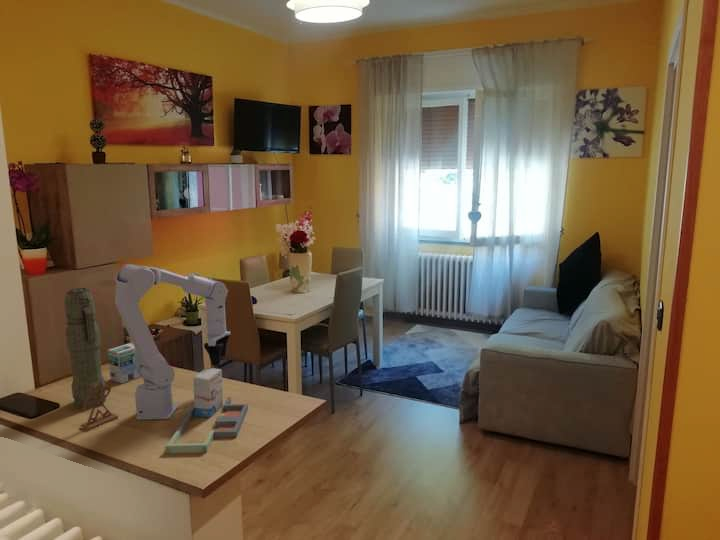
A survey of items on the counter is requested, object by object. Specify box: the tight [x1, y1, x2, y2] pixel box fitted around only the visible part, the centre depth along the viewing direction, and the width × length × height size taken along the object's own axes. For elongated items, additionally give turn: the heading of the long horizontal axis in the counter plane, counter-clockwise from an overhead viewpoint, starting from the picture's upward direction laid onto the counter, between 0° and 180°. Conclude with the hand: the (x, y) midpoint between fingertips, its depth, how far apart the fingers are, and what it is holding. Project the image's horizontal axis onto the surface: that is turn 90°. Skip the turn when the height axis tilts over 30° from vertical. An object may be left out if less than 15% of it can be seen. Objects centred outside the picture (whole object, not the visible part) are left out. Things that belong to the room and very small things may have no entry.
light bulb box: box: [107, 342, 141, 384], centre depth 181 cm, size 11×7×11 cm, turn 147°
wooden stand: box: [80, 382, 119, 431], centre depth 148 cm, size 9×4×12 cm, turn 148°
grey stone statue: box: [64, 287, 107, 409], centre depth 159 cm, size 9×12×35 cm
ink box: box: [192, 367, 224, 419], centre depth 155 cm, size 9×5×12 cm, turn 168°
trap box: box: [165, 396, 249, 454], centre depth 147 cm, size 16×30×2 cm, turn 2°
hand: (218, 360), depth 168 cm, fingers open, 7 cm apart
